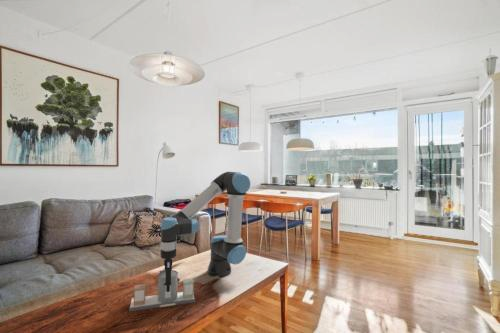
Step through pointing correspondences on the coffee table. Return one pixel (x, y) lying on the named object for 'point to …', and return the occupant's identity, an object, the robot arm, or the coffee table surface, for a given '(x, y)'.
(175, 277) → the beer can
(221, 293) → the coffee table surface
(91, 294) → the coffee table surface
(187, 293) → the sage box
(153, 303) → the shelf board
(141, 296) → the clay box
